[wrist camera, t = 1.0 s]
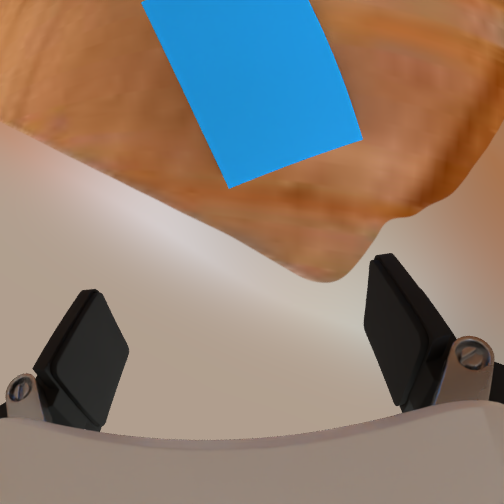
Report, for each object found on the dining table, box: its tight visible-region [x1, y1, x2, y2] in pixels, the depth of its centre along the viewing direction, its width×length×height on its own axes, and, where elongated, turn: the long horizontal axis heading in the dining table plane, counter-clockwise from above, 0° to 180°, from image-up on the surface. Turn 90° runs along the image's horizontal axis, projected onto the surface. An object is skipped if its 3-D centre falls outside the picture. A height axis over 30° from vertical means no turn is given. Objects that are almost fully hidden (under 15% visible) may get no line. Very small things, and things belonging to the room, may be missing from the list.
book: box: [141, 0, 363, 189], centre depth 28 cm, size 17×4×25 cm
